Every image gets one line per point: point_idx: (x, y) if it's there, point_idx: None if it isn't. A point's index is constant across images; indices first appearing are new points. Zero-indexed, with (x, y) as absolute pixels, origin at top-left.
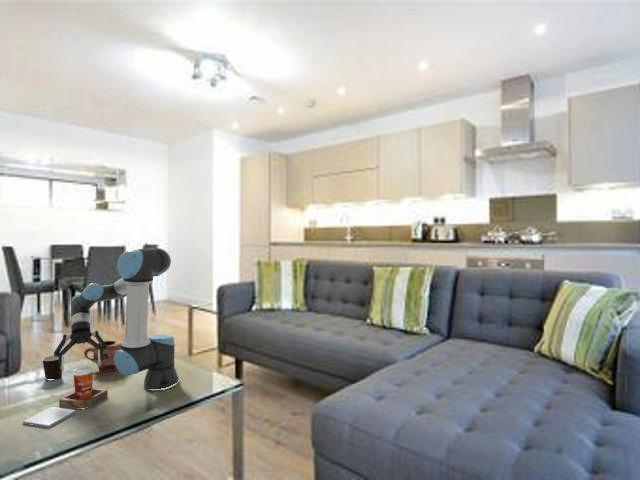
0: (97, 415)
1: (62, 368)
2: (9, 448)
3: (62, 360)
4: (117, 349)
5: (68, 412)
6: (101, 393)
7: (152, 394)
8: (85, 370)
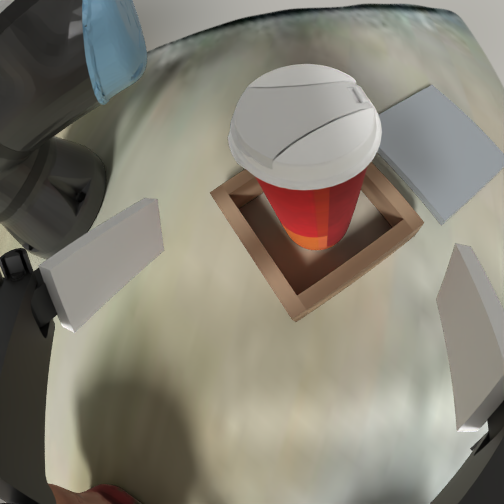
0: None
1: (464, 246)
2: (488, 67)
3: (494, 300)
4: None
5: (383, 125)
6: (243, 170)
7: (115, 142)
8: (294, 74)
